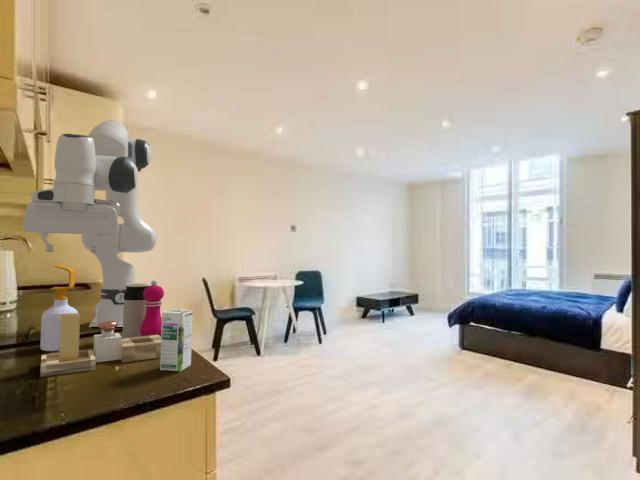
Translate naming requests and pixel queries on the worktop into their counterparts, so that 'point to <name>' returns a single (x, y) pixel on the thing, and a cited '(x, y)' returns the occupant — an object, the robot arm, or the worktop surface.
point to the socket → (140, 348)
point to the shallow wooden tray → (67, 364)
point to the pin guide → (107, 348)
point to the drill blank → (69, 337)
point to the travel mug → (133, 309)
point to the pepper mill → (152, 310)
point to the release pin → (107, 328)
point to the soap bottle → (56, 315)
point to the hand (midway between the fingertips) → (72, 252)
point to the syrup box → (176, 340)
